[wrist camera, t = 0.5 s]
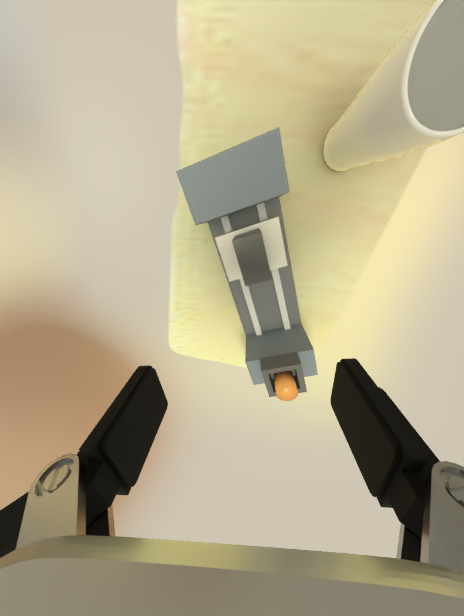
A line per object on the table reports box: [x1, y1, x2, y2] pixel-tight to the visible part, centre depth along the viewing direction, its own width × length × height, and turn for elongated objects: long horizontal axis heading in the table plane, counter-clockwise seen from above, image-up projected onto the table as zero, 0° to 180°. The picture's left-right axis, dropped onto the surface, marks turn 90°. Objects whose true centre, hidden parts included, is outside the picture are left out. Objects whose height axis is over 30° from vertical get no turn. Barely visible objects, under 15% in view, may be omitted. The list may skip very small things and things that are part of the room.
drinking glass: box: [323, 0, 464, 171], centre depth 17 cm, size 7×7×15 cm
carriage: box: [215, 216, 288, 286], centre depth 23 cm, size 6×8×8 cm
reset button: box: [273, 371, 298, 401], centre depth 26 cm, size 3×3×3 cm
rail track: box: [177, 128, 317, 397], centre depth 26 cm, size 30×10×12 cm, turn 18°
